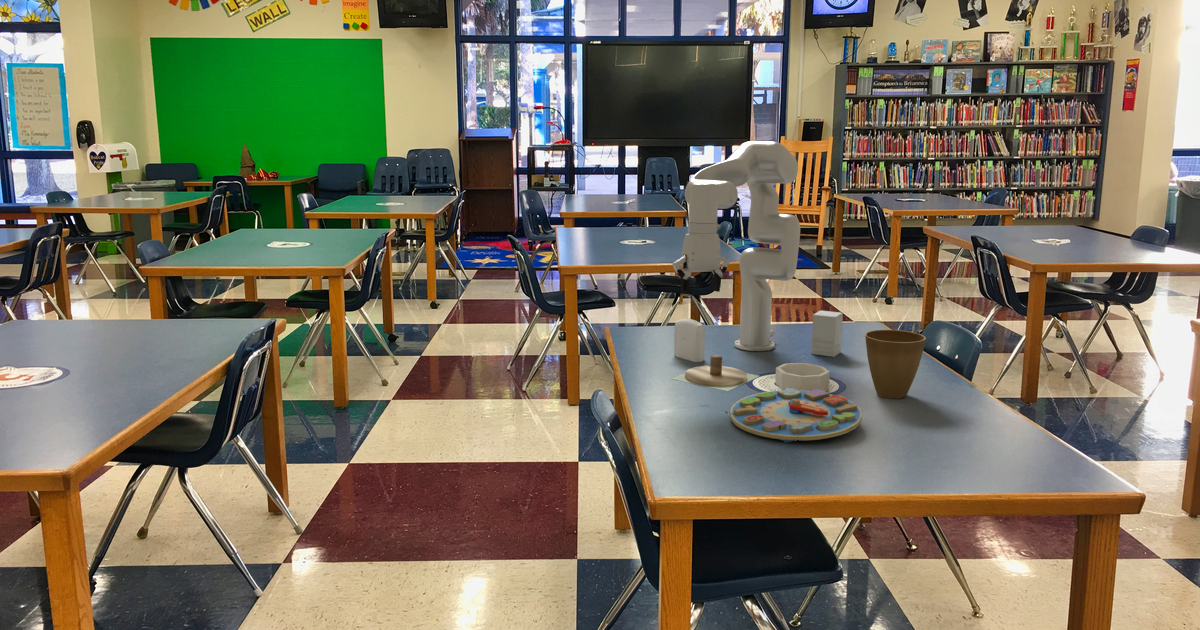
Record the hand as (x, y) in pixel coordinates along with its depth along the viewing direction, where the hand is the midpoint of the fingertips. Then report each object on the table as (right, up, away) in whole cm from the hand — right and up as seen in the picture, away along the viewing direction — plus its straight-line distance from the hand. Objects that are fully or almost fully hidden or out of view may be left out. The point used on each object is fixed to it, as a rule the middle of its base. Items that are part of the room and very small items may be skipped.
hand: (700, 292), depth 239 cm
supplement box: (+43, -18, +34) cm, 57 cm away
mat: (+5, -24, +5) cm, 25 cm away
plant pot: (+49, -27, -7) cm, 57 cm away
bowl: (+27, -26, -2) cm, 37 cm away
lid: (+5, -24, +5) cm, 25 cm away
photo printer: (-1, -20, +26) cm, 32 cm away
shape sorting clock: (+19, -32, -29) cm, 47 cm away
